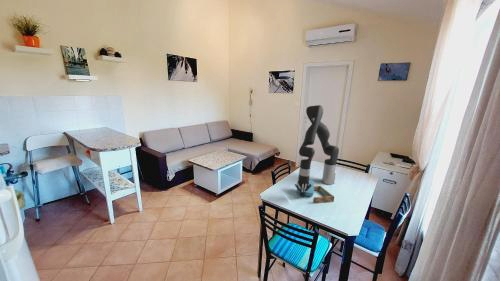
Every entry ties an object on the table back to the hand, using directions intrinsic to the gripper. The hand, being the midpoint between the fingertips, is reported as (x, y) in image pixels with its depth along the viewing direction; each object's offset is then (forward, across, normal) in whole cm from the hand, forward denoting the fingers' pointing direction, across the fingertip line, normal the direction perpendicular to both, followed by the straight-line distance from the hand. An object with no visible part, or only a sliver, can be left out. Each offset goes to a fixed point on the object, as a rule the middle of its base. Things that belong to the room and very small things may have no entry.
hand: (301, 196), depth 148 cm
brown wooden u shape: (+1, -13, -1) cm, 13 cm away
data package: (-1, -3, -1) cm, 4 cm away
